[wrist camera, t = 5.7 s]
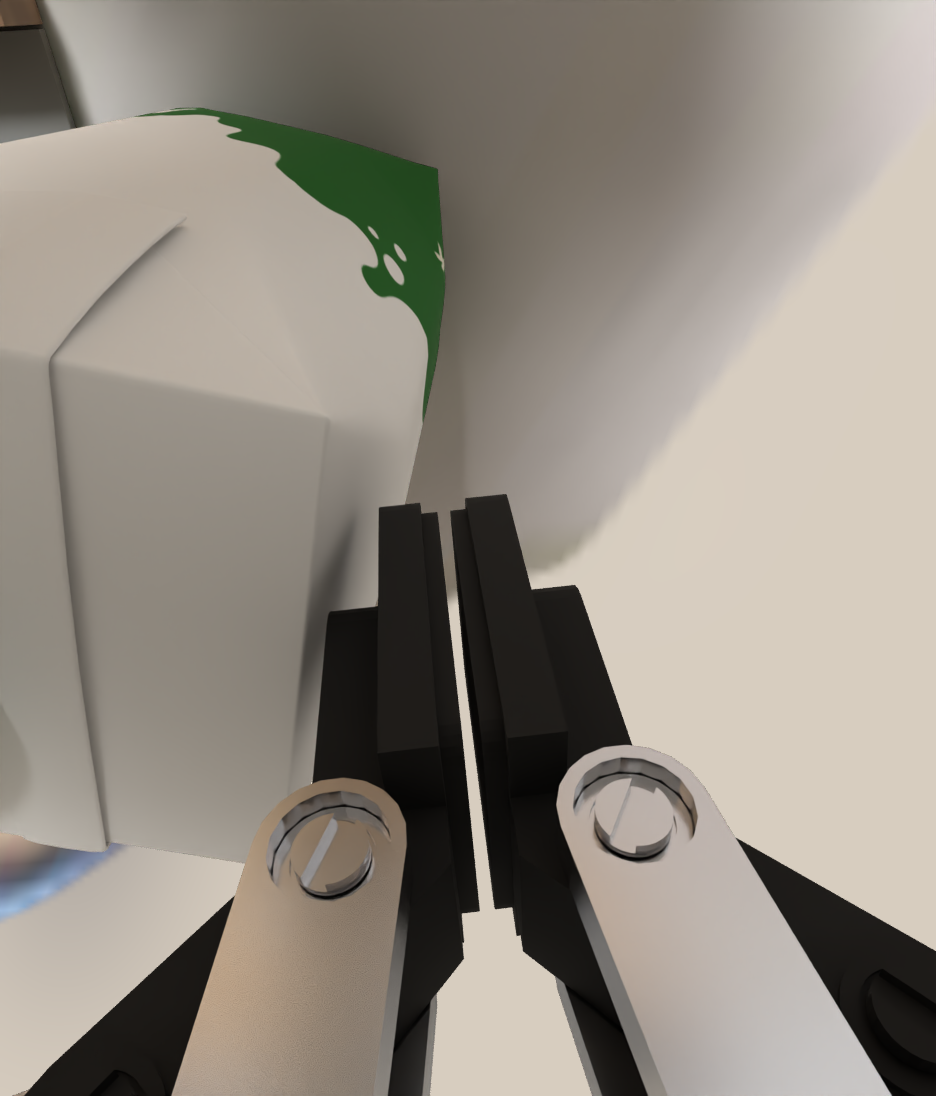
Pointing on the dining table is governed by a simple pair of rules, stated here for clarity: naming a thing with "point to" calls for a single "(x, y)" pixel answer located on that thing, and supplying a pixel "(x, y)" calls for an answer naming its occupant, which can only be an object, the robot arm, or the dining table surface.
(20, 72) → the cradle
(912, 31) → the dining table surface
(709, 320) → the dining table surface
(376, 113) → the dining table surface
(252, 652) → the soya milk
